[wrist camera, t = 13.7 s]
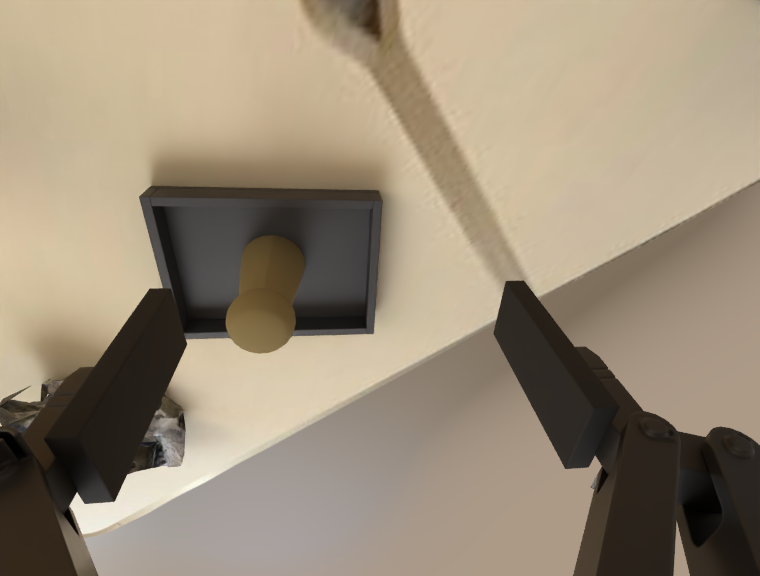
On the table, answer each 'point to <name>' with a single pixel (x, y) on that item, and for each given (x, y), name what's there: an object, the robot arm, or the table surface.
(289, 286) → the tan pawn
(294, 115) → the table surface
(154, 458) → the crumpled newspaper
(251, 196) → the dark grey shallow tray
